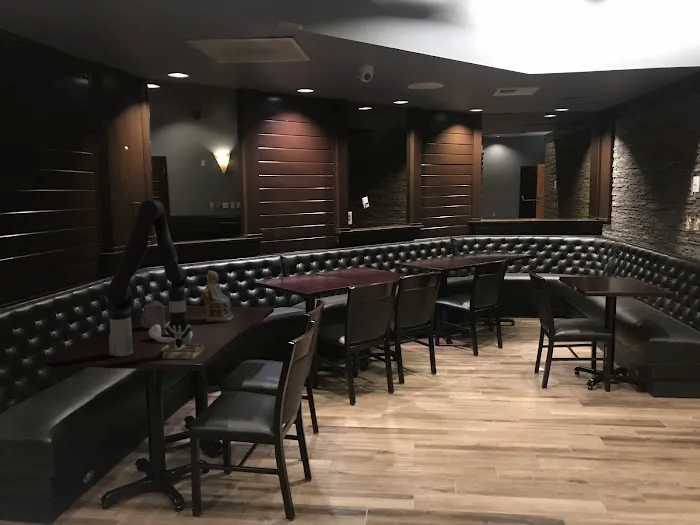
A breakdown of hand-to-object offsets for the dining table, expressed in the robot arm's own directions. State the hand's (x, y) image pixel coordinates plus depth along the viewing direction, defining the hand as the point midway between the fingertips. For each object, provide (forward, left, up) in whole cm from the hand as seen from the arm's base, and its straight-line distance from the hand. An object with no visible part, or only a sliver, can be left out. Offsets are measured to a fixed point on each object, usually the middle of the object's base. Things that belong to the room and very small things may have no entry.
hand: (179, 346), depth 272 cm
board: (+2, 0, -3) cm, 4 cm away
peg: (0, +12, -4) cm, 12 cm away
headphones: (-14, +30, -4) cm, 33 cm away
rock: (-33, +56, -4) cm, 65 cm away
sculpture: (-3, +76, -4) cm, 76 cm away
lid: (-3, 0, -1) cm, 3 cm away
